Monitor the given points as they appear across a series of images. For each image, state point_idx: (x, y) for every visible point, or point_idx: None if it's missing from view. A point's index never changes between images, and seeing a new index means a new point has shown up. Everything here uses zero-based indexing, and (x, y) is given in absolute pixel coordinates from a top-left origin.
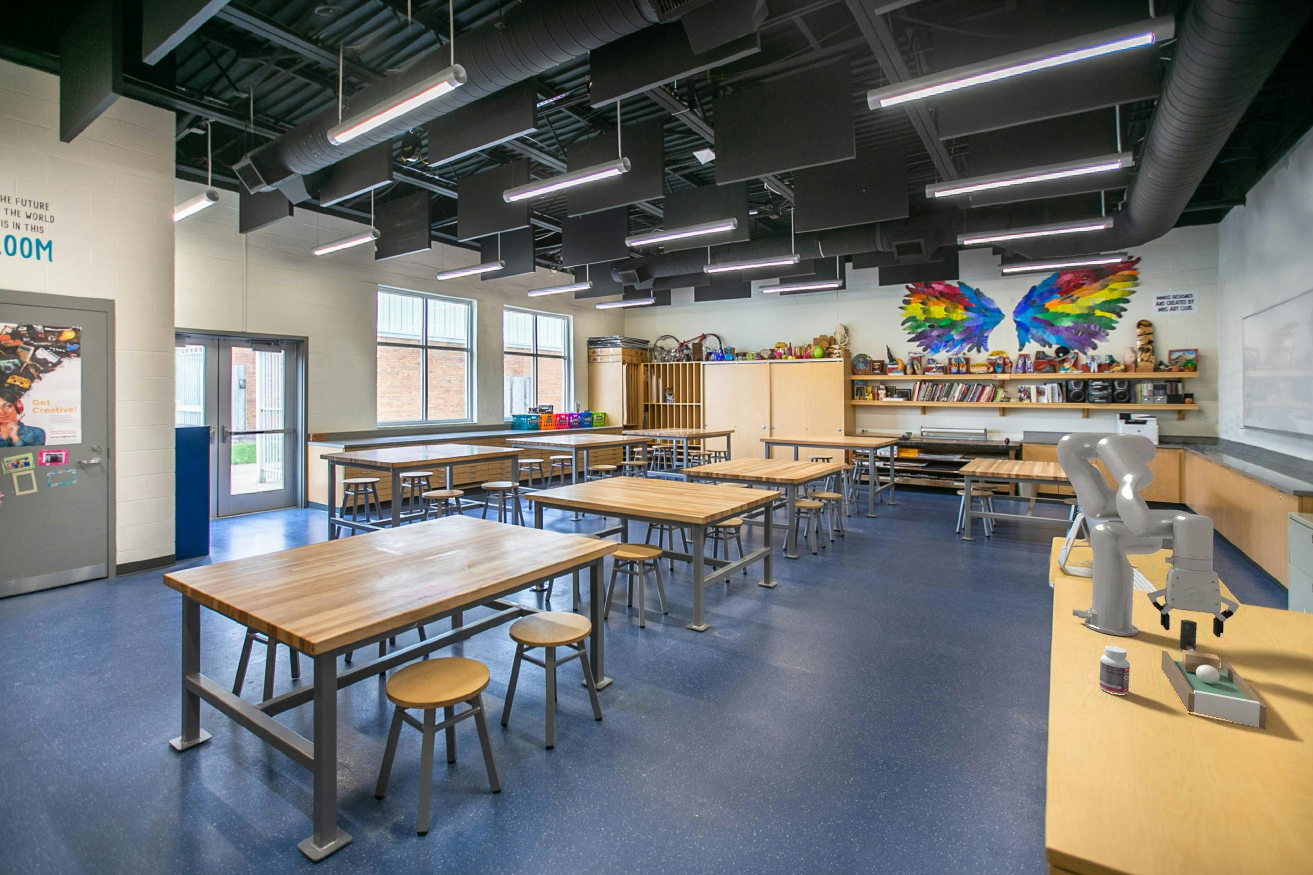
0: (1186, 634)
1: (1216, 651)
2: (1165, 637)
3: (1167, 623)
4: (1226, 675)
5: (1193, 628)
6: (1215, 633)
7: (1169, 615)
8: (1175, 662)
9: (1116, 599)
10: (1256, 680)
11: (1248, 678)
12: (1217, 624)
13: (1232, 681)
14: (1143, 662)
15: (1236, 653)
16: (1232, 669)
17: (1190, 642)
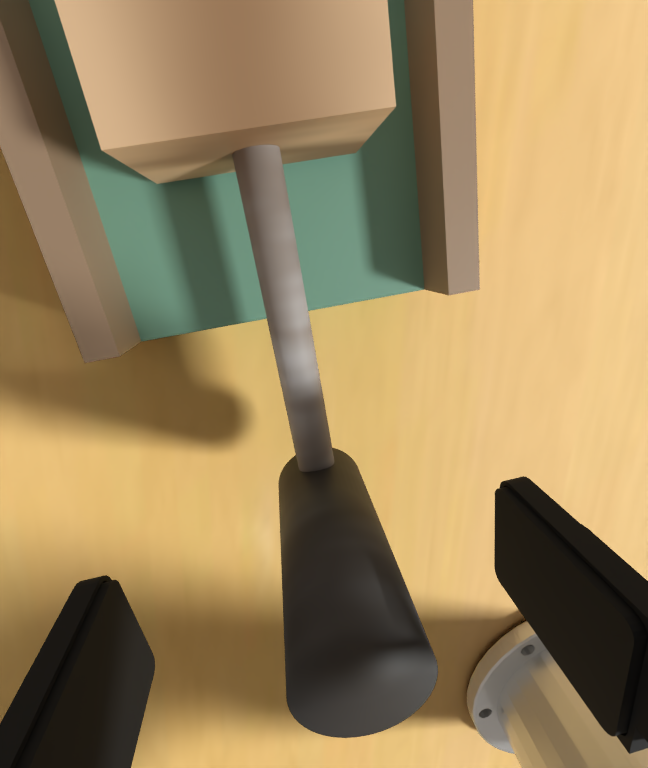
0: (353, 523)
1: (202, 693)
2: None
3: (564, 521)
4: (94, 193)
5: (311, 593)
6: (121, 622)
7: (634, 632)
8: (382, 255)
9: None
10: (9, 427)
11: (46, 431)
12: (33, 737)
13: (30, 17)
14: (496, 314)
15: None
16: (12, 136)
17: (314, 485)
